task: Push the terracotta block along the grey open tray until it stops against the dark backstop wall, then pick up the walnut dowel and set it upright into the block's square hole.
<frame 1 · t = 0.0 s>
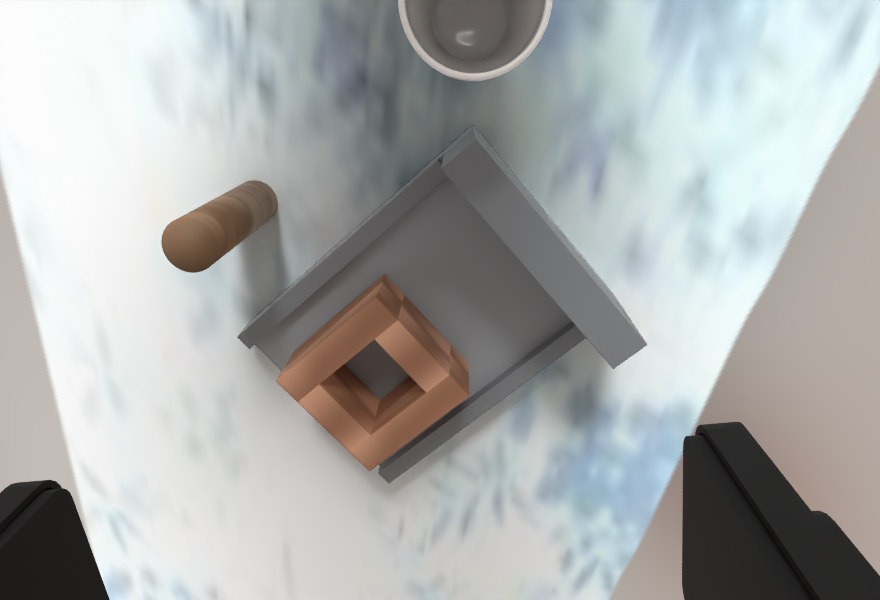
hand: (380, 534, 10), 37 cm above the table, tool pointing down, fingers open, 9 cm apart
block: (377, 371, 45), point 5 cm above the table, slide at 0.0 cm
dowel: (256, 201, 46), on the table
drinking glass: (470, 21, 42), on the table
grey open tray: (429, 308, 48), on the table
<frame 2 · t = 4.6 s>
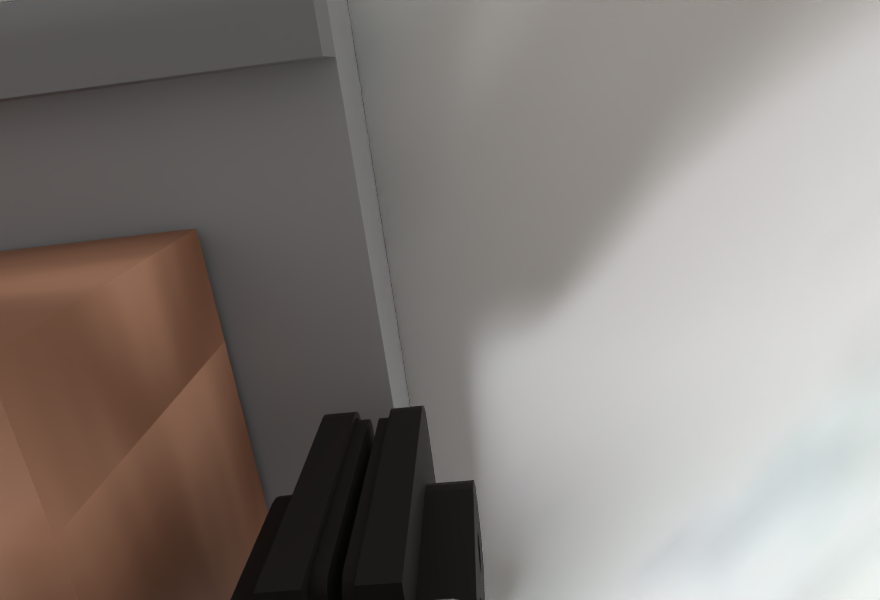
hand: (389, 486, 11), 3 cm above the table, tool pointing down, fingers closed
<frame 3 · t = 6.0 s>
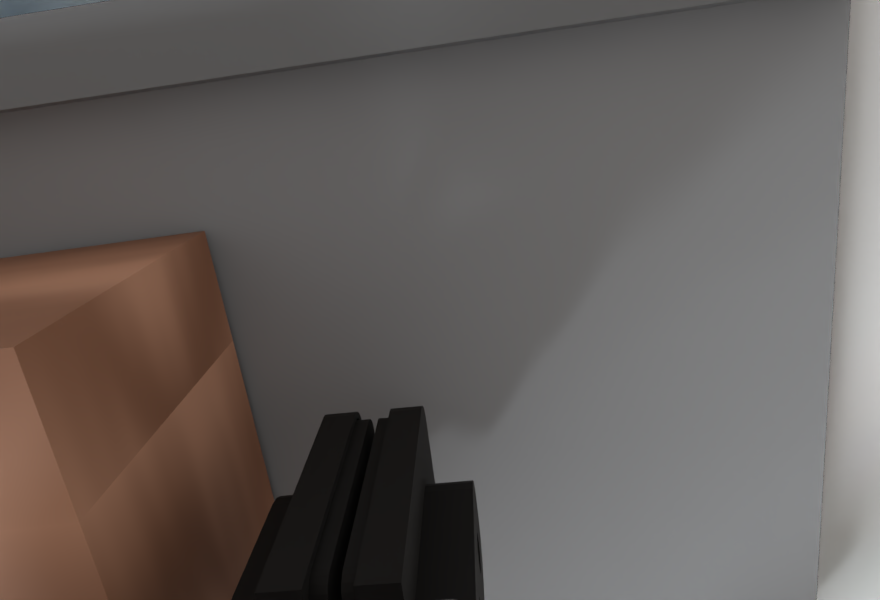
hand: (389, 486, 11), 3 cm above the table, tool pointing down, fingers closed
grey open tray: (269, 408, 14), on the table
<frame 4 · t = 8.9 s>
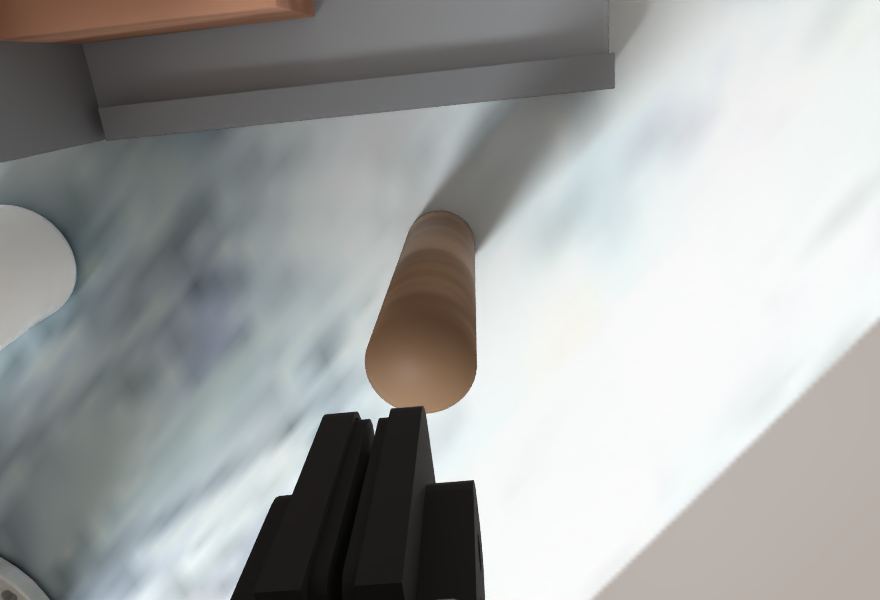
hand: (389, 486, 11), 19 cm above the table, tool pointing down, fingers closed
dowel: (440, 244, 29), on the table
drinking glass: (27, 257, 30), on the table
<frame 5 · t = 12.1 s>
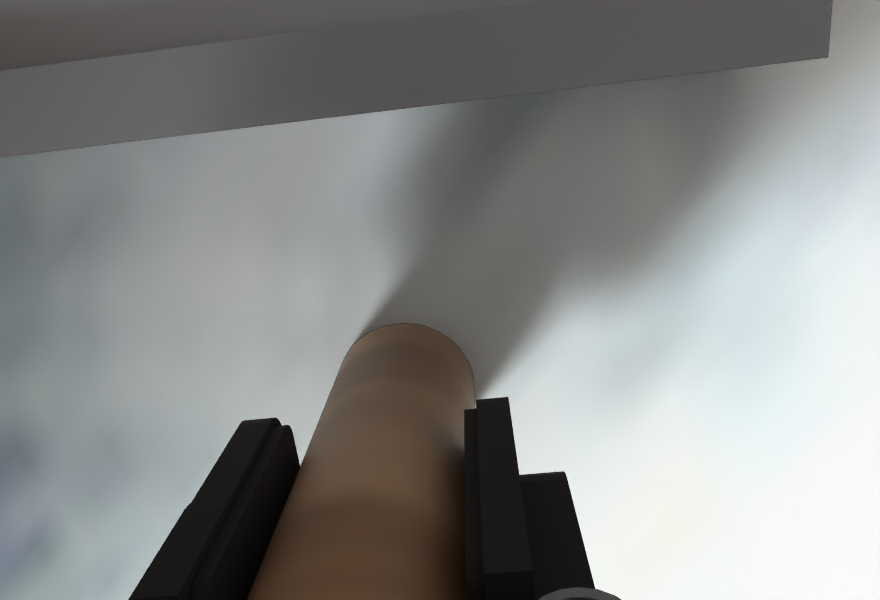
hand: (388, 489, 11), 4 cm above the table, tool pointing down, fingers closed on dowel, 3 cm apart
dowel: (406, 386, 14), on the table, touching gripper
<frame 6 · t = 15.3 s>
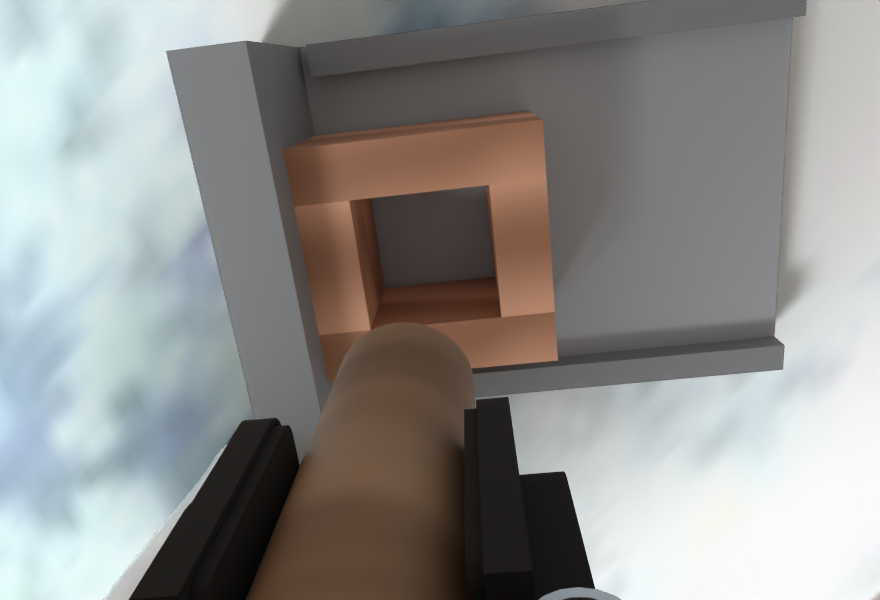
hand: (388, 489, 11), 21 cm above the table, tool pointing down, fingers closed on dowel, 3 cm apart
block: (430, 243, 26), point 5 cm above the table, slide at 8.5 cm, touching grey open tray
dowel: (406, 385, 14), point 17 cm above the table, touching gripper
drinking glass: (264, 469, 36), on the table
grey open tray: (520, 208, 30), on the table
when the fingers open (8 cm above the table, at t = 18.5 s): dowel drops 2 cm, resting on grey open tray.
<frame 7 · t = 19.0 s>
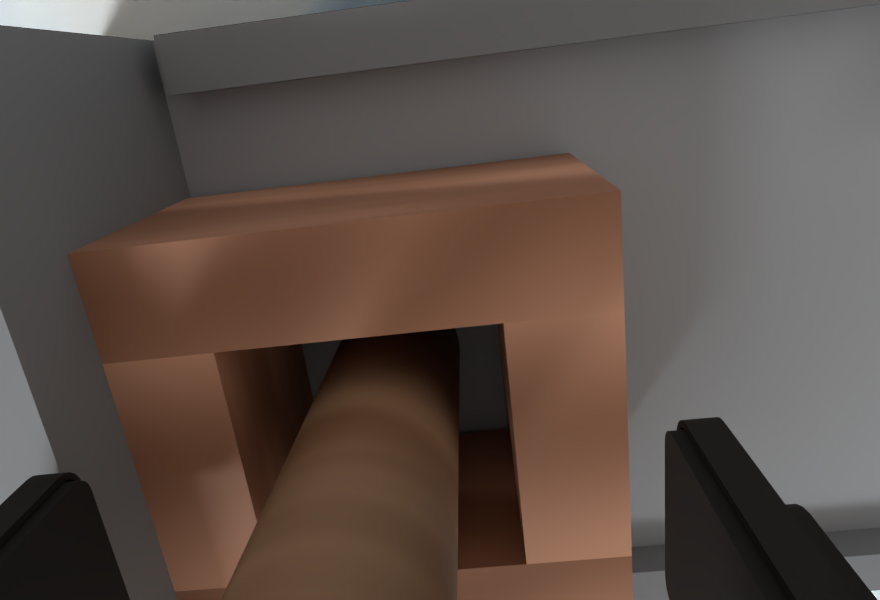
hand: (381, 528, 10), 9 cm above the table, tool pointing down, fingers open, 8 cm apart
block: (392, 399, 14), point 5 cm above the table, slide at 8.5 cm, touching grey open tray
dowel: (401, 349, 17), point 2 cm above the table, touching grey open tray
grey open tray: (548, 306, 18), on the table
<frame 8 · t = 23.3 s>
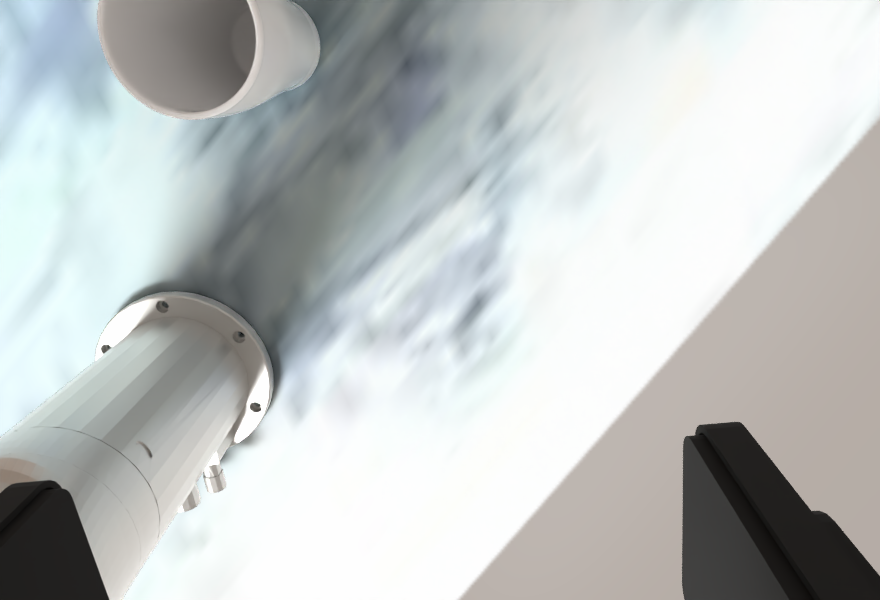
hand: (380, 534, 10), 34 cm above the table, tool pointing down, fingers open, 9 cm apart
drinking glass: (280, 45, 40), on the table
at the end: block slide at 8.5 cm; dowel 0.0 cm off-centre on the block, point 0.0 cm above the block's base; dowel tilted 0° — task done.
